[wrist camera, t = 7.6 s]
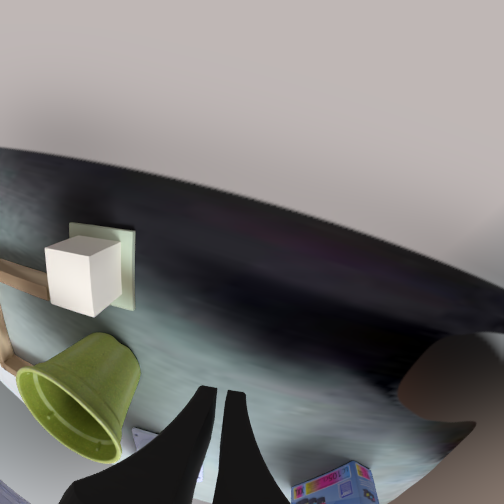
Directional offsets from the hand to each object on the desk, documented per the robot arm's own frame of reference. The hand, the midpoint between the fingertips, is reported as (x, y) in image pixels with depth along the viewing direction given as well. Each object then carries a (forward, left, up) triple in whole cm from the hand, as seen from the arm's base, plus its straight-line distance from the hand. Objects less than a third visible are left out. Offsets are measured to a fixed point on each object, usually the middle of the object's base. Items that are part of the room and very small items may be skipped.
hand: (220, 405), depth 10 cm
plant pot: (-8, +11, -10) cm, 17 cm away
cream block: (+2, +11, -9) cm, 14 cm away
